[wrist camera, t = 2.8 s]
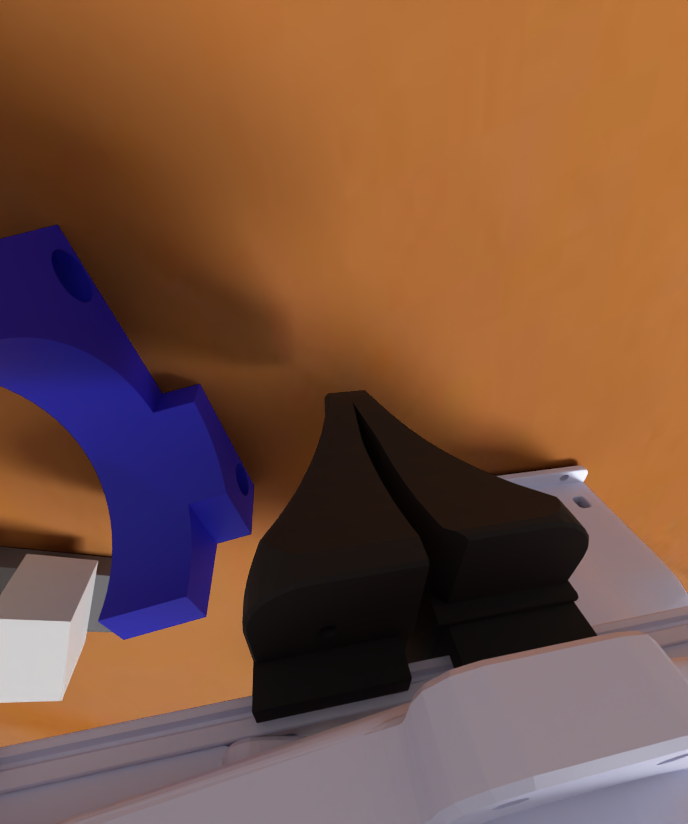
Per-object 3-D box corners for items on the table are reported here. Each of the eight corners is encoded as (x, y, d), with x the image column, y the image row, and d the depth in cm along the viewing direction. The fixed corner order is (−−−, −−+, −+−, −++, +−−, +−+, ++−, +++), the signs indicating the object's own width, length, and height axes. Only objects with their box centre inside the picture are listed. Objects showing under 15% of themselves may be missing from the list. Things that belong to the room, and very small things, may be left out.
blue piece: (254, 482, 17) (246, 605, 12) (165, 507, 17) (123, 639, 12) (110, 211, 10) (-36, 247, 5) (-41, 249, 10) (-325, 321, 5)
